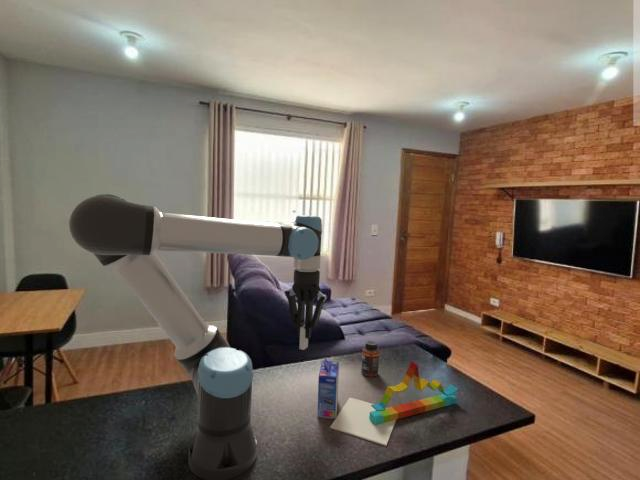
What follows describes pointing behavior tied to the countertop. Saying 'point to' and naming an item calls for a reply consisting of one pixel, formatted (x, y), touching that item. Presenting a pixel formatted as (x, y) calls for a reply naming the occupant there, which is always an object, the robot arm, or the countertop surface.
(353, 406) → the plain beige panel
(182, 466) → the countertop surface
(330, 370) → the ink cartridge box
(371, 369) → the supplement bottle
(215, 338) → the robot arm
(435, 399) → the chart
